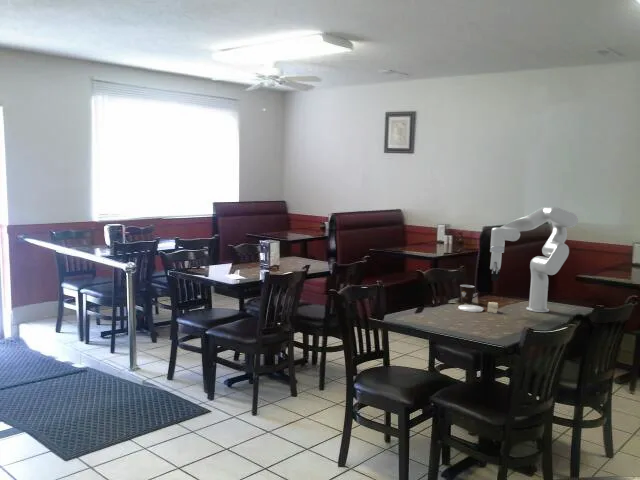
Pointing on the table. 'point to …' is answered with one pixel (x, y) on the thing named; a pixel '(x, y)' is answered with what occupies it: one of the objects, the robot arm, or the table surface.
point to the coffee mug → (467, 293)
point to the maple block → (492, 307)
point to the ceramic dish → (470, 308)
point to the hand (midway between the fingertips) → (495, 279)
